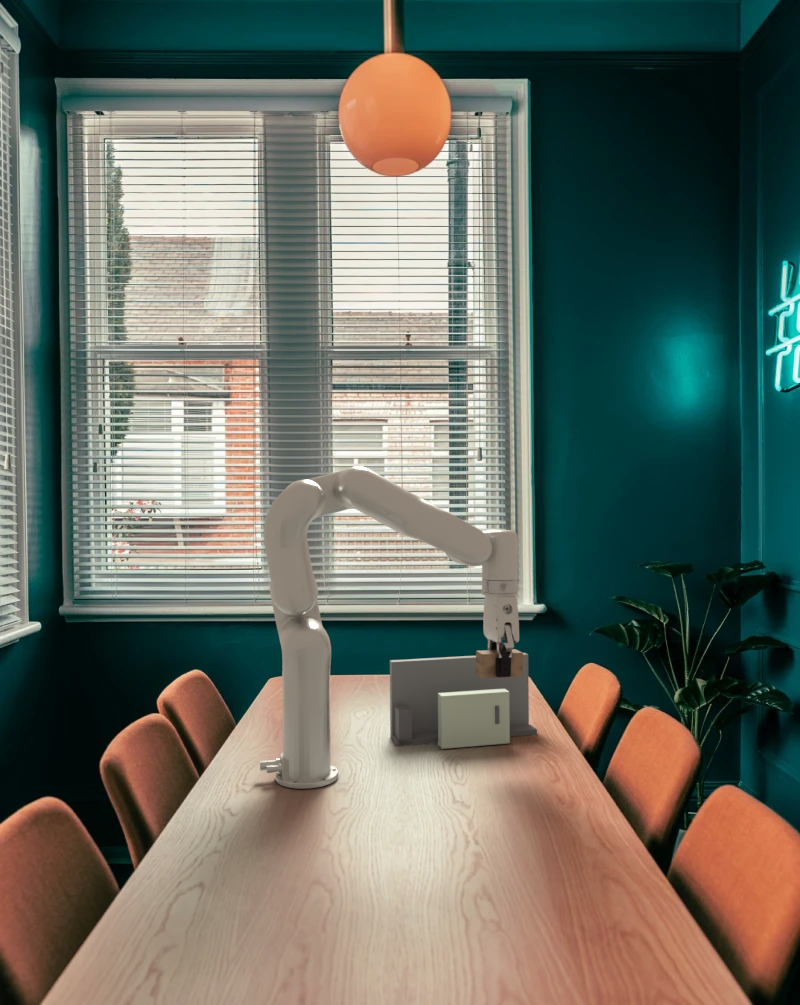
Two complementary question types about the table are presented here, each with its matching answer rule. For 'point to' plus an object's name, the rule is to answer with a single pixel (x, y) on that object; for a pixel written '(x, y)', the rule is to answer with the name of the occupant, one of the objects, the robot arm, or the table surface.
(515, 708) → the grey upright panel
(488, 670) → the walnut block
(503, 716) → the door
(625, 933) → the table surface
